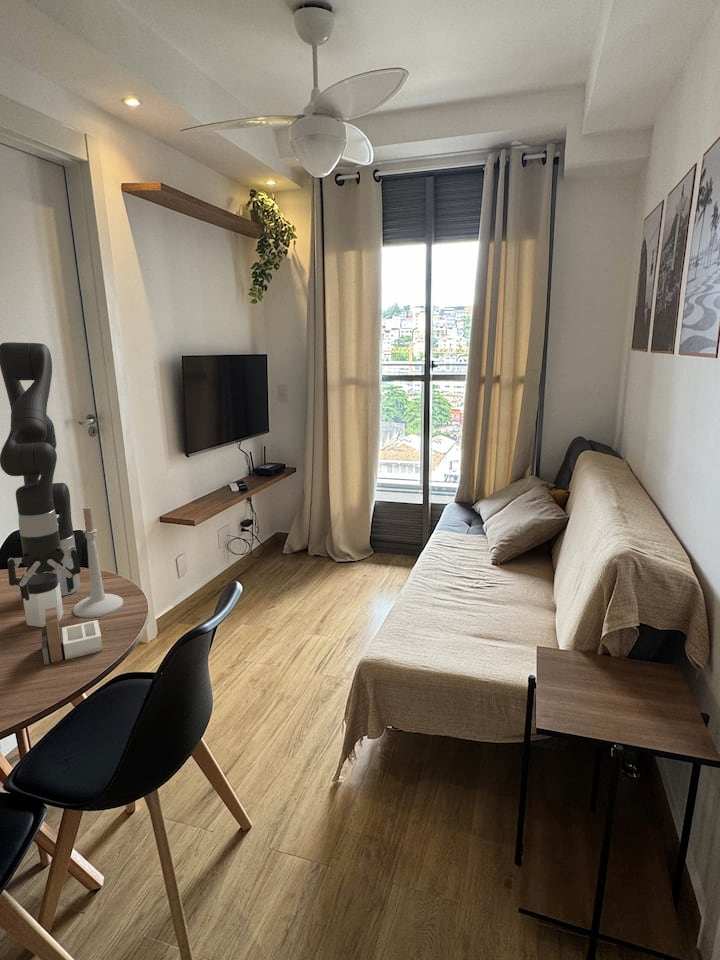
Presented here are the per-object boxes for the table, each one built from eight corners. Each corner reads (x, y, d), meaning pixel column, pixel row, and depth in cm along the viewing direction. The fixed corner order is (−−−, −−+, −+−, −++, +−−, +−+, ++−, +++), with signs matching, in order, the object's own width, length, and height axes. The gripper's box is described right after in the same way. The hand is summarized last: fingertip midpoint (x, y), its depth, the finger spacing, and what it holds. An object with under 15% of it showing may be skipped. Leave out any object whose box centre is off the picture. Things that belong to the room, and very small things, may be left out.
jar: (33, 613, 147) (27, 573, 144) (66, 610, 149) (60, 570, 146) (23, 629, 138) (17, 587, 136) (58, 625, 141) (52, 583, 138)
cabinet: (44, 646, 130) (41, 628, 129) (99, 633, 137) (97, 616, 135) (44, 665, 123) (41, 645, 122) (102, 650, 129) (100, 632, 128)
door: (45, 647, 130) (40, 610, 128) (61, 643, 132) (56, 607, 130) (46, 663, 124) (40, 624, 121) (62, 659, 125) (57, 621, 123)
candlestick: (73, 602, 154) (60, 502, 147) (121, 593, 159) (111, 497, 152) (73, 621, 143) (59, 515, 136) (125, 611, 148) (114, 508, 141)
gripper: (73, 520, 127) (81, 582, 131) (2, 530, 120) (13, 595, 124) (75, 529, 121) (83, 594, 125) (0, 540, 114) (12, 609, 118)
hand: (48, 595), depth 125 cm, fingers open, 8 cm apart
